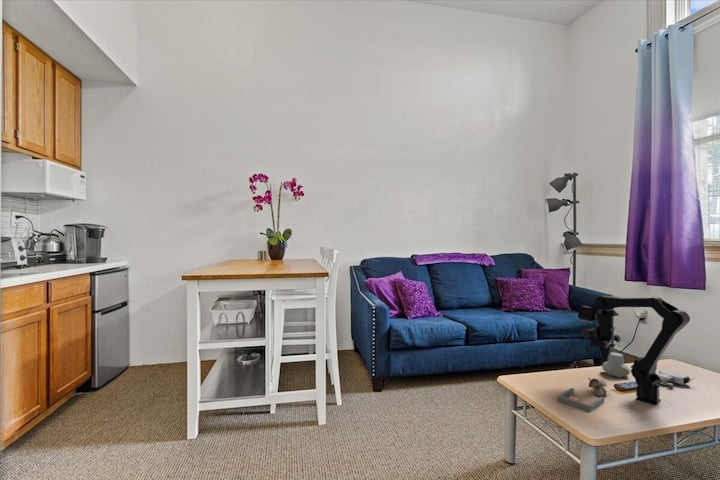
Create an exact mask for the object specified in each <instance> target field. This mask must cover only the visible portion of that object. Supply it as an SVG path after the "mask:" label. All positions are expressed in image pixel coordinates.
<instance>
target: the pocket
mask: <svg viewBox="0 0 720 480" xmlns="http://www.w3.org/2000/svg"><path fill="white" fill-rule="evenodd" d="M574 394H575V388H573V387H571V388H569V389H566V390H565V391H563V392H561V393H560V394H558V395H556V396H557V399H556V400H557V402H560V403H563V404H566V405H568V406H572V407H574V408H577V409H581V410H584V411H587V412H590V413H591V412H593V411H594V410H596V409H597V408H598V407H600V406H601V405H603V404H605V397H600V398H598V397H597V399H596V400H594V401H592V402H591V403H589V404H587V403H584V402H581V401H580V398H579V397H576V396H575V397H574V396H572V395H574Z"/></svg>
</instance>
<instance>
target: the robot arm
mask: <svg viewBox="0 0 720 480" xmlns="http://www.w3.org/2000/svg"><path fill="white" fill-rule="evenodd" d="M617 308H651V309H652V310H654V311H655V312H656V314H658V316H660V317H661V318H662V319H663V320H662V322H661V330H660V331H659V333H658V334H657V336H656V337H655V339H654V340H653V343H652V344H651V346H650V348H649V349H648V350H647V352H646V354H645V356H644V357H638V358H636V359H634V361H633V364H632V365H630V368H631V369H630V374H631V375H632V377H633V378H634V380H635V383H636V387H635V389H636V392H635V395H636V400H638V401H642V402H646V403H648V404H652V405H657V404H659V403H660V402H661V398H660V386H659V385H661V384H660V383H661V382H662V380H661V379H660V378H659V376H658V375H657V374H658V373H656V371H657V369H658V367H657V366H658V361H660V359H661V357H662V356H663V354H664V352H665V351H666V350H667V348H668V346H669V345H670V343H671V342H672V340H673V339H674V337H675V336H676V334H677V333H679V332H680V331H681V330H682V329H684V328H685V327H686V326H687V325H688V324H689V323H690V320H691V317H690V315H689V314H688V313H687V312H686V311H685V310H682V309H679V308H678V307H676V306H674V305H673V304H671V303H668V302H667V301H665V300H664V299H662V298H661V297H660V296H654V297H619V296H615V295H602V296H598V297H596V299H595V301H594V304H592V305H591V306H588V305H587V306H586V305H581V306H580V308H579V310H578V312H577V317H578V319H579V320H580V321H583V322H584V321H585V322H589V323H596V321H597V325H596V326H595V327H594V328H591V329H589V328H583V329H582V331H581V332H582V333H581V335H582V336H584V339H588V338H592V339H590V340H588V343H589V344H588V346H591V347H595V348H599V351H600V354H601V357H602V360H604V361H608V357H609V355H610V353H611V352H612V351H613V350H614V349H615V346H616V344H615V343H613V342H612V341H615V342H616V343H621V336H620V335H618V334H614V331H615V329H616V327H614V317H618V316H619V313H618V312H617V311H616V310H615V309H617ZM609 309H611V310H609ZM601 310H602V311H601Z"/></svg>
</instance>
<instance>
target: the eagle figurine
mask: <svg viewBox="0 0 720 480" xmlns="http://www.w3.org/2000/svg"><path fill="white" fill-rule="evenodd" d="M588 380H589V382H588V387H589V388H592V389H591V390H590V392H591V393H592V392H595V393H594V394H593V396H594V397H596V398H597V399H598V398H600V397H604V398H605V397H607V390H606V388H607V381H606V380H604V379H600V380H599V379H598V378H590V377H588Z"/></svg>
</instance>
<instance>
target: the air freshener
mask: <svg viewBox="0 0 720 480" xmlns="http://www.w3.org/2000/svg"><path fill="white" fill-rule="evenodd" d="M624 361H625V360H624V355H623V354H622V353H619V352H611V353H610V355H609V357H608V359H607V360H606V361H605V362H603V364H602V365H601V368H602V370H603V371H604V373H606V374H607V375H610V376H612V377H615V378H623V377H627V376H629V375H630V374H631V369H630V367H629V366H628V365H627V364H625V363H624Z"/></svg>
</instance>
